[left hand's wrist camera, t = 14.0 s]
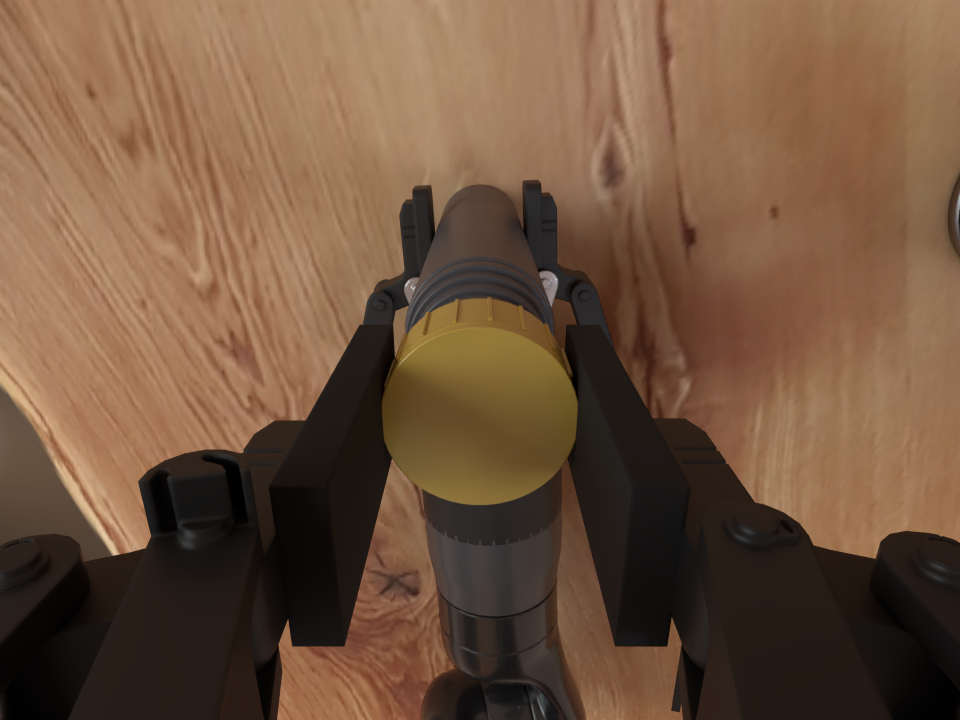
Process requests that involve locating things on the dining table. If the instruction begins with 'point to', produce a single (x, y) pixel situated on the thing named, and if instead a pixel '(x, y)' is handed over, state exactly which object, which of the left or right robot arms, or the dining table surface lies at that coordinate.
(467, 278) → the bottle
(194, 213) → the dining table surface
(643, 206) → the dining table surface
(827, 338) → the dining table surface
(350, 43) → the dining table surface
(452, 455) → the cap
